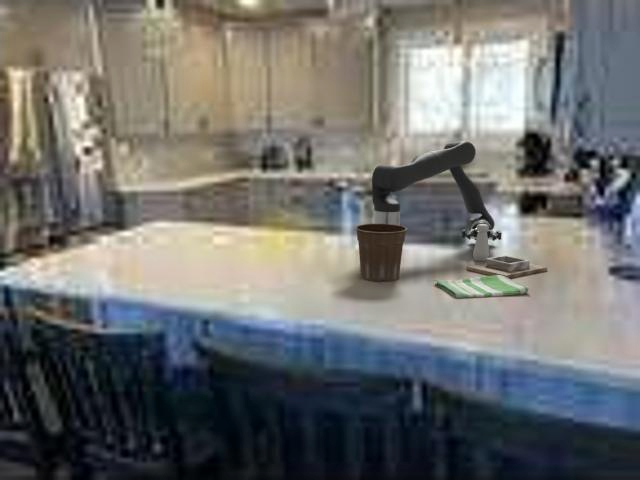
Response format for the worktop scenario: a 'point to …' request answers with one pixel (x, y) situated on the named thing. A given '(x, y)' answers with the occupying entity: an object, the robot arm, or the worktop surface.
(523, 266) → the caddy board
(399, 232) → the plant pot
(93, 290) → the worktop surface
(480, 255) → the salt shaker
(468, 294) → the dish towel
